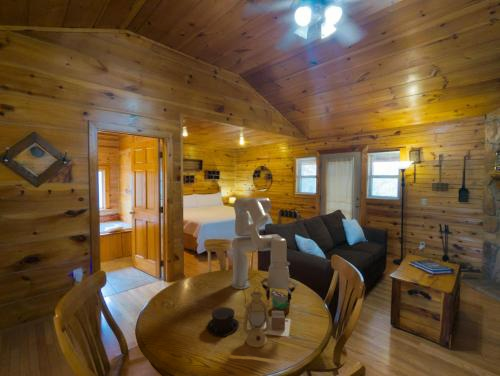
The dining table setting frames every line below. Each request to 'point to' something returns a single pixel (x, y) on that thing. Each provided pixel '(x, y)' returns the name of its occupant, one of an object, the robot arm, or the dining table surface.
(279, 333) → the letter
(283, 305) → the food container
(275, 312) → the walnut block
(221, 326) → the top hat
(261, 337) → the lantern
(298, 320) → the dining table surface
